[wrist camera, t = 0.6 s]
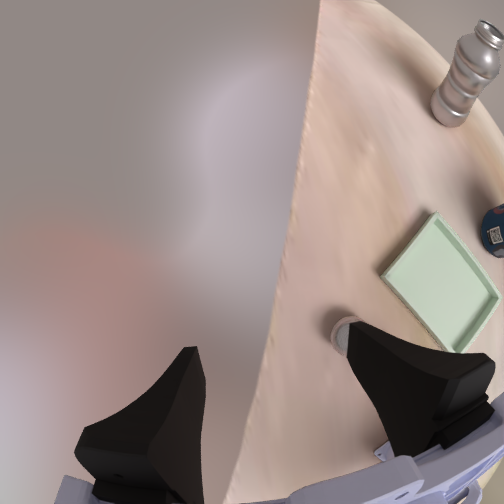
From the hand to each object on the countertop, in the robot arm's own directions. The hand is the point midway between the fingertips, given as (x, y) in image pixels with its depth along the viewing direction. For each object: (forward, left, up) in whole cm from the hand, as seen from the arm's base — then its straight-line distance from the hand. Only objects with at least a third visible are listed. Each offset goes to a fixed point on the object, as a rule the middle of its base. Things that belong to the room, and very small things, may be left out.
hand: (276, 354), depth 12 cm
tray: (-12, -15, -21) cm, 29 cm away
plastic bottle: (+3, -37, -21) cm, 43 cm away
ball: (-6, -2, -19) cm, 20 cm away
